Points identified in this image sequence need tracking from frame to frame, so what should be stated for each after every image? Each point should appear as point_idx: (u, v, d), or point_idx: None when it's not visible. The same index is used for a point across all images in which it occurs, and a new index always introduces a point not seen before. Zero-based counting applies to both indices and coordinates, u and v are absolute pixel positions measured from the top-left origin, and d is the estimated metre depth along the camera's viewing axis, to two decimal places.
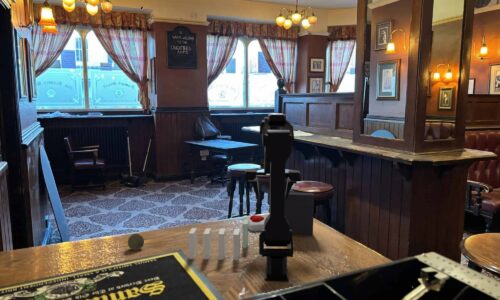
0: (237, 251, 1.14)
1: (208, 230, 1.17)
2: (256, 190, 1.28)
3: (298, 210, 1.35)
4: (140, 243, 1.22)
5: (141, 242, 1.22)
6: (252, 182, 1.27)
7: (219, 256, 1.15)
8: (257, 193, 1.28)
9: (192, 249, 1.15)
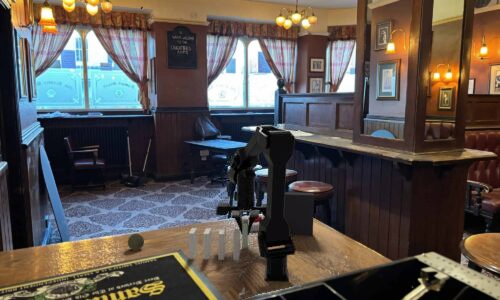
0: (237, 251, 1.14)
1: (208, 230, 1.17)
2: (240, 225, 1.24)
3: (298, 210, 1.35)
4: (140, 243, 1.22)
5: (141, 242, 1.22)
6: (235, 217, 1.23)
7: (219, 256, 1.15)
8: (241, 228, 1.25)
9: (192, 249, 1.15)
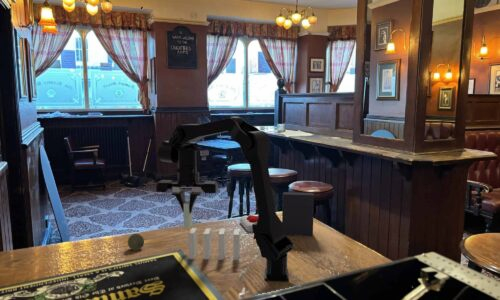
0: (237, 251, 1.14)
1: (208, 230, 1.17)
2: (181, 203, 1.19)
3: (298, 210, 1.35)
4: (140, 243, 1.22)
5: (141, 242, 1.22)
6: (175, 194, 1.17)
7: (219, 256, 1.15)
8: (182, 206, 1.19)
9: (192, 249, 1.15)
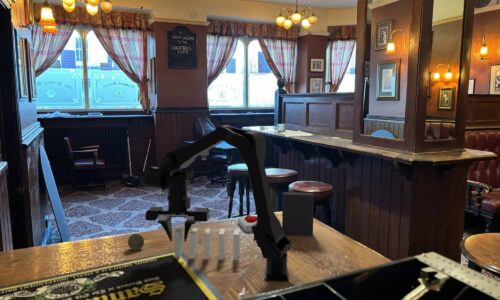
0: (237, 251, 1.14)
1: (208, 230, 1.17)
2: (167, 231, 1.15)
3: (298, 210, 1.35)
4: (140, 243, 1.22)
5: (141, 242, 1.22)
6: (161, 223, 1.14)
7: (219, 256, 1.15)
8: (168, 234, 1.16)
9: (193, 249, 1.15)
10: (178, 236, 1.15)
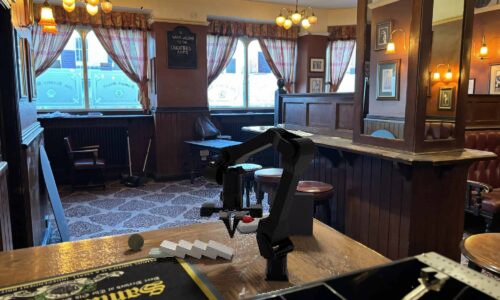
0: (222, 253, 1.14)
1: (178, 243, 1.18)
2: (228, 228, 1.14)
3: (298, 210, 1.35)
4: (140, 243, 1.22)
5: (141, 242, 1.22)
6: (223, 219, 1.13)
7: (212, 257, 1.15)
8: (229, 231, 1.15)
9: (175, 252, 1.15)
10: (152, 255, 1.16)
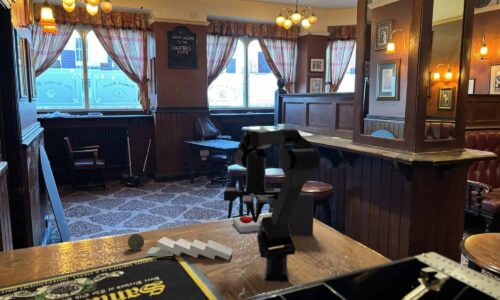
0: (221, 253, 1.14)
1: None
2: (252, 212, 1.13)
3: (298, 210, 1.35)
4: (140, 243, 1.22)
5: (141, 242, 1.22)
6: (247, 203, 1.12)
7: (210, 257, 1.15)
8: (253, 215, 1.14)
9: (171, 248, 1.17)
10: (150, 254, 1.17)
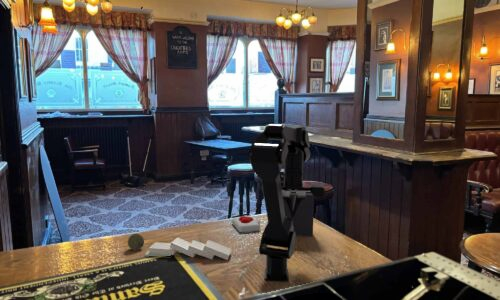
0: (220, 253, 1.14)
1: None
2: (290, 207, 1.15)
3: (298, 210, 1.35)
4: (140, 243, 1.22)
5: (141, 242, 1.22)
6: (286, 198, 1.14)
7: (209, 257, 1.15)
8: (291, 210, 1.16)
9: (164, 250, 1.17)
10: (148, 255, 1.17)
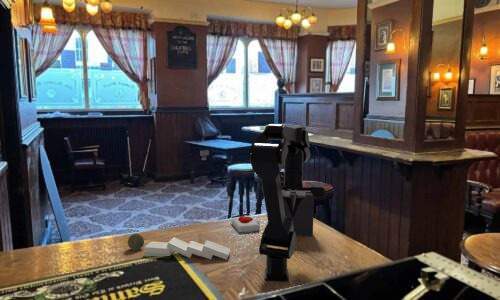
0: (219, 252, 1.15)
1: None
2: (290, 207, 1.15)
3: (298, 210, 1.35)
4: (140, 243, 1.22)
5: (141, 242, 1.22)
6: (286, 198, 1.14)
7: (208, 257, 1.15)
8: (291, 210, 1.16)
9: (159, 249, 1.17)
10: (148, 254, 1.17)
